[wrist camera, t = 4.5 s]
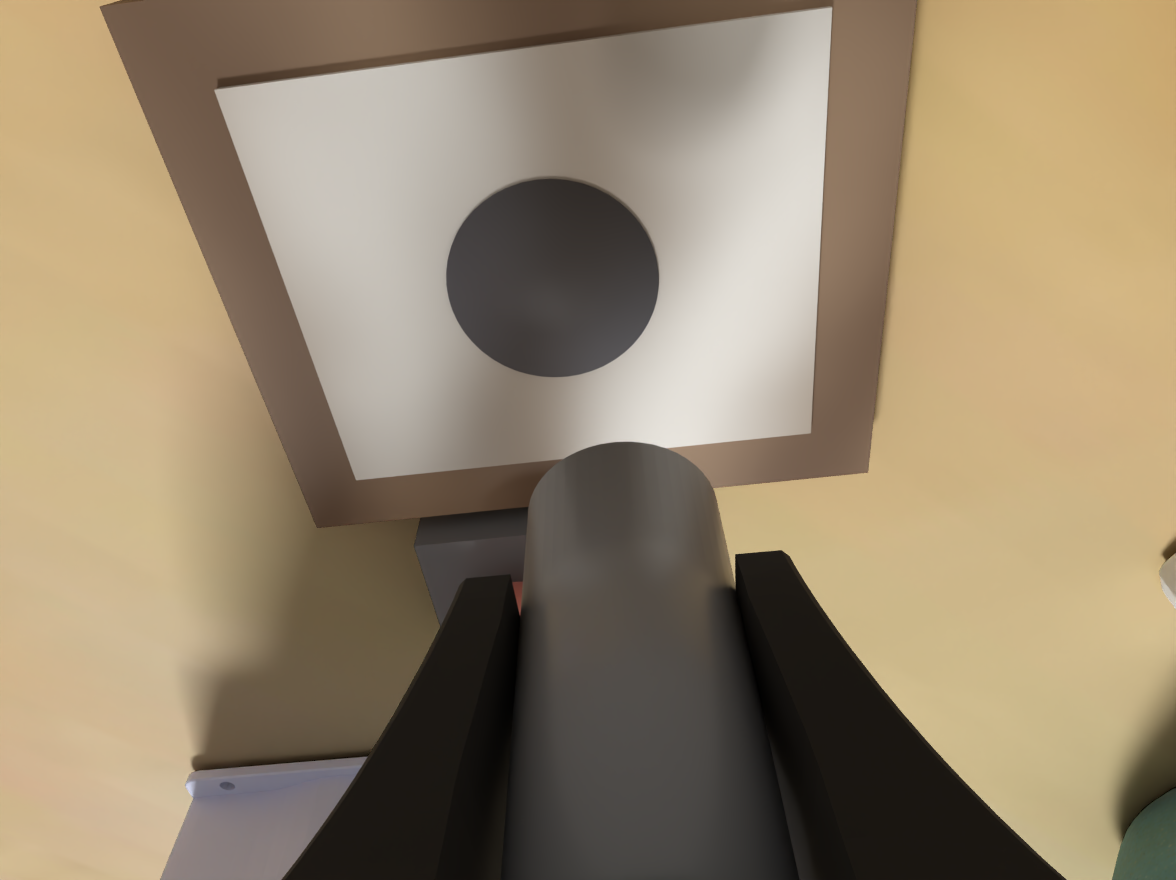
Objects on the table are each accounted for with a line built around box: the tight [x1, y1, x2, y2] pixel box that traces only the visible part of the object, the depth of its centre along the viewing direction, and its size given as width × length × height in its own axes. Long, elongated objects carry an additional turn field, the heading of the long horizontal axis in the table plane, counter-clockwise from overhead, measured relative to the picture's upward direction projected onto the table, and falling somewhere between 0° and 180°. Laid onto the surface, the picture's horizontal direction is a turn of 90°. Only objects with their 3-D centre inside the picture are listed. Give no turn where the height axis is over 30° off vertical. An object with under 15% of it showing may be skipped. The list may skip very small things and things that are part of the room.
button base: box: [414, 507, 529, 627], centre depth 22 cm, size 5×5×2 cm
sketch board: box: [100, 0, 917, 528], centre depth 17 cm, size 14×12×1 cm
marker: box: [501, 442, 800, 880], centre depth 10 cm, size 3×3×8 cm
